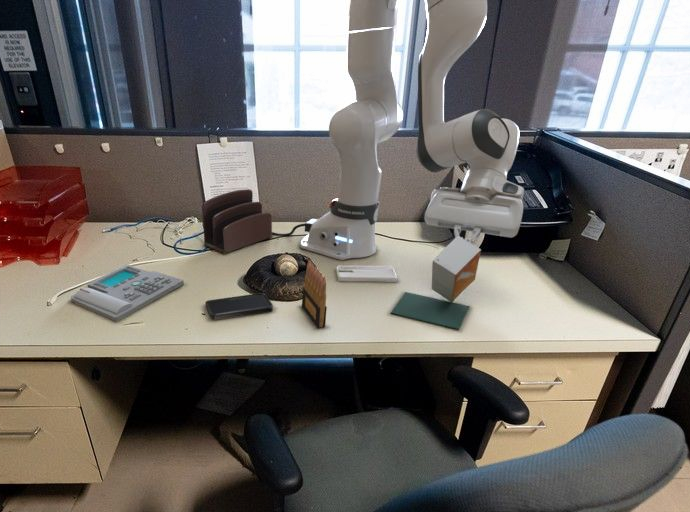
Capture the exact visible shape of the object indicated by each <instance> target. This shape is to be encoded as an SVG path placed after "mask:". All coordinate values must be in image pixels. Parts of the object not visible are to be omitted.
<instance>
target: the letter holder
mask: <svg viewBox="0 0 690 512" xmlns="http://www.w3.org/2000/svg"><path fill="white" fill-rule="evenodd" d="M253 194H254V193H253V190H252V189H250V188H247V189H237V190H233V191H228V192H225V193H223V194H220V195H216V196H214V197H211V198H210V199H207V200H205V201H204V202H203V203H202V205H201V211H202V212H201V213H202V228H203V244H204V247H207V248H209V249H212V250H214V251H217V252H219V253H222V254H223V255H226V254H229V253H231V252H235V251H237V250H240V249H243V248H245V247H248V246H251V245H254V244H256V243H259V242H262V241H265V240H268V239H270V238H272V237H273V235H272V232H273V217H272V216H273V215H272V213H271V212H263V203H262V202H261V201H253V196H254V195H253Z"/></svg>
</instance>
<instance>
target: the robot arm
mask: <svg viewBox="0 0 690 512" xmlns="http://www.w3.org/2000/svg"><path fill="white" fill-rule="evenodd" d="M400 2H401V1H400V0H350V3H349V9H348V20H347V42H346V44H347V45H346V46H347V47H346V73H347V76H348V78H349V79H350V81H351V83H352V85H353V90H354V96H355V100H354V101H351V102H349V103H347V104H345V105H344V106H342V107H341V108H340V109H338V110H337V111H335V112H334V114H333V115H332V117H331V118H330V120H329V121H330V122H329V125H328V135H329V139H330V141H331V143H332V145H333V146H334V147H335V149H336V152H337V157H338V163H339V164H338V165H339V182H338V192H337V195H336V196H335V197H334V199H333V200H331V202H329V203H328V208H329V209H330V211H328V212H327V213H325V214H323V215H322V216H321V217H319V218H310V219H309V220H307V221H306V222H304V223H300V224H297V225H295V226H294V227H293V228H292V230H290V232H287V233H277V232H273V231H272V236H280V237H281V236H282V237H290V236H292V235H293V234H294V233H295V231H296V230H297V229H298V228H301V227H304V232H307V233H308V234H307V235H306V236H304V237H303V238H302V239H301V241H300V244H299V247H300V249H303V250H306V251H309V252H312V253H317V254H320V255H323V256H327V257H330V258H333V259H336V260H340V261H345V260H348V259H357V258H367V257H371V256H372V255H374V254H376V252H377V246H376V223H377V220H378V216H379V205H380V201H379V196H380V189H381V183H382V182H381V181H382V175H383V173H382V169H381V168H380V165H379V162H378V153H377V149H378V144H381V143H383V142H386V141H388V140H389V139H391V137H393V136H394V135H395V134H396V133H398V131H399V129H400V128H401V126H402V123H403V119H404V112H403V108H402V105H401V103H400V102H399V99H398V94H397V93H398V92H397V86H396V77H395V53H396V38H397V37H396V35H397V22H398V21H397V20H398V10H399V9H398V8H399V4H400ZM424 3H425V11H426V21H427V25H426V26H427V27H426V28H427V29H426V36H425V42H424V46H423V48H422V50H421V52H420V54H419V57H418V58H419V59H418V63H417V101H418V102H417V104H418V105H417V106H418V109H417V111H418V113H417V114H418V133H417V141H416V158H417V161H418V162H419V163H420V165H421V166H422V167H423V168H424V169H425V170H426V171H429V172H431V173H435V174H436V173H439V172H442V171H445V170H447V169H450V168H452V167H454V166H459V165H462V164H465V163H466V164H467V165H468V166H469V169H468V170H467V172H466V174H465V176H464V179H463V181H462V185H461V187H459V188H458V187H447V186H440V187H438V188H435V189H434V190H433V191H432V192H431V195H430V198H429V204H428V205H427V208H426V210H425V212H424V222H425V223H426V225H427V226H432V227H440V228H446V229H452V230H453V235H454V239H455V238H456V237H457V236H460V234H461V233H462V231H465V232H472V235H471V236H470V237H465V238H464V236H460V237H461V238H463V239H464V240H466V241H468V242H469V243H471V244H473V242H475V241H476V240H477V239H478V238H479V237H480V236H481V234H486V235H491V236H499V237H504V238H510V239H511V238H514V237H516V236H517V235H518V233H519V230H520V227H521V224H522V219H523V214H524V203H523V201H524V200H523V199H524V196H525V188H524V187H523V186H522V185H518V184H517V183H514V182H512V181H509V180H507V178H508V173H509V171H510V170H511V169H512V166H513V164H514V161H515V158H516V155H517V151H518V147H519V139H520V129H519V126H518V125H517V124H516V123H515V121H512V120H511V119H508V118H503V117H502V118H501V117H500V116H499V115H498V114H497V113H496V112H494V111H493V110H491V109H489V108H482V109H478V110H475V111H472V112H469V113H467V114H464V115H461V116H460V117H456V118H453V119H451V120H449V121H446V122H445V107H444V106H445V81H446V79H447V75H448V74H449V72H450V70H451V68H452V67H453V65H454V64H455V63H456V62H457V61H458V59H459V58H460V57H462V56H463V54H464V53H465V52H466V51H467V50H469V48H470V47H471V46H472V45H473V44H474V43H475V41H476V40H477V39H478V37H479V36H480V34H481V33H482V30H483V29H484V27H485V24H486V21H487V17H488V16H487V15H488V0H424Z"/></svg>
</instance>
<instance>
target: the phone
mask: <svg viewBox="0 0 690 512" xmlns="http://www.w3.org/2000/svg"><path fill="white" fill-rule="evenodd" d="M273 307H274V305H273V303H272V302H271V300H270V299H269V297H268V296H267V294H266V293H264V292H258V293H252V294H244V295H236V296H229V297H223V298H216V299H215V298H213V299H208V300H206V301H205V309H206V312H207V314H208V316H209V318H210V319H211V320H212V321H217V320H223V319H229V318H236V317H243V316H251V315H257V314H258V315H259V314H265V313H271V312H273V309H274V308H273Z"/></svg>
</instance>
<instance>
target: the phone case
mask: <svg viewBox="0 0 690 512" xmlns="http://www.w3.org/2000/svg"><path fill="white" fill-rule="evenodd" d="M335 271H336V276H337V281H339V282H358V283H359V282H365V283H367V282H368V283H370V282H371V283H372V282H373V283H374V282H376V283H377V282H378V283H396V282H397V281H398V275H397V273H396V271H395V268H394V266H392V265H341V264H339V265H336V268H335ZM341 271H342V272H341Z"/></svg>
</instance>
